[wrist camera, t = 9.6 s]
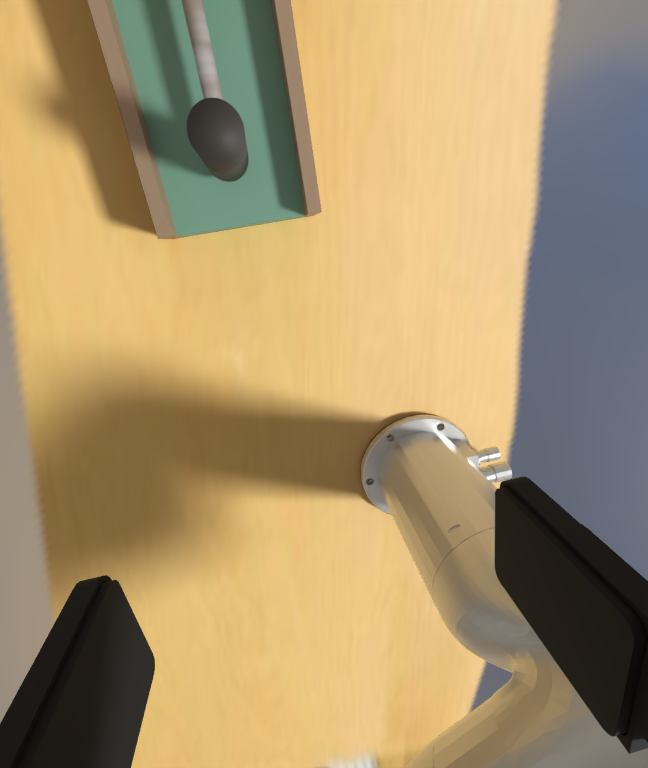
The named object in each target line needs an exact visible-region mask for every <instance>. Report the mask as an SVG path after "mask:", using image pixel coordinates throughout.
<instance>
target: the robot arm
mask: <svg viewBox="0 0 648 768" xmlns="http://www.w3.org/2000/svg"><path fill="white" fill-rule="evenodd" d="M388 435H389V436H388ZM497 459H500V452H499V450H498V448H497V447H495V446H494V447H490V448H486V449H483V450H480V451H476V450H474V449H471V446H470V443H469V441H468V439H467V437H466V436H465V435H464V433H463V432H462V431H461V430H460V429H459V428H458V427H457V426H456V425H455V424H453V423H452V422H450V421H449V420H447V419H444V418H442V417H439V416H434V415H415V416H410V417H406V418H403V419H401V420H398V421H396V422H394V423H392V424H391V425H389V426H387V427H386V428H385V429H383V430H382V431H381V432H380V433H379V434H378V435H377V436H376V437H375V438H374V439H373V441H372V442H371V443H370V445H369V446H368V448H367V450H366V452H365V454H364V457H363V460H362V464H361V481H362V484H363V487H364V490H365V492H366V494H367V496H368V498H369V499H370V501H371V502H372V503H373V505H375V506H376V507H377V508H378V509H380V510H381V511H383V512H385V513H387V514H390V515H392V516H393V518H394V520H395V523H396V525H397V527H398V529H399V531H400V533H401V535H402V537H403V539H404V541H405V543H406V545H407V548H408V550H409V552H410V554H411V556H412V558H413V560H414V562H415V564H416V566H417V568H418V570H419V572H420V575H421V577H422V579H423V581H424V583H425V585H426V587H427V589H428V591H429V593H430V595H431V597H432V600H433V602H434V604H435V606H436V608H437V610H438V612H439V614H440V616H441V618H442V620H443V621H444V623H445V625H446V626H447V628H448V629H449V631H450V632H451V633H452V635H453V636H454V637H455V638H456V639H457V640H458V641H459V642H460V643H461V644H462V645H463V646H464V647H465V648H467V649H468V650H469V651H471V652H472V653H474V654H475V655H477V656H478V657H480V658H482V659H484V660H486V661H488V662H489V663H492V664H494V665H496V666H498V667H500V668H503V669H505V670H507V671H510V672H512V673H513V676H512V678H511V679H510V680H509V682H508V683H506V684H505V685H504V686H503V687H502V688H500V689H499V690H498V691H497V692H495V693H494V694H493V696H492V697H491V698H490V699H488V700H487V701H486V702H484V703H483V704H481V705H480V706H479V707H477V708H476V709H475V710H473V711H472V712H470V713H469V714H468V715H466V716H465V717H464V718H462V719H461V720H459V721H458V722H457V723H455V724H454V725H453V726H451V727H450V728H448V729H447V730H446V731H444V732H443V733H442V734H440V735H439V736H438V737H437V738H435V739H434V740H433V741H432V742H430V743H429V744H428V745H427V746H426V747H424V748H423V749H422V750H421V751H420V752H419V753H418V754H416V755H415V757H414V758H413V759H412V760H411V761H410V763H409V764H408V765H407V767H406V768H648V581H647V580H646V579H645V578H643V577H642V576H641V575H640V574H639V573H638V572H636V571H635V570H634V569H633V568H632V567H631V566H630V565H629V564H627V563H626V562H625V561H624V560H623V559H622V558H621V557H620V556H618V555H617V554H616V553H615V552H614V551H613V550H611V549H610V548H609V547H608V546H607V545H606V544H605V543H604V542H602V541H601V540H600V539H599V538H598V537H597V536H595V535H594V534H593V533H592V532H591V531H590V530H589V529H588V528H586V527H585V526H583V525H582V524H580V523H579V522H578V521H576V520H575V519H574V518H573V517H572V516H571V515H570V514H569V513H567V512H566V511H565V510H564V509H563V508H562V507H561V506H560V505H558V504H557V503H556V502H555V501H554V500H553V499H552V498H550V497H549V496H548V495H547V494H546V493H545V492H543V491H542V490H541V489H540V488H539V487H538V486H537V485H536V484H535V483H533V482H532V481H531V480H530V479H529V478H527V477H519V478H515V479H511V478H512V471H511V468H510V466H509V465H508V463H506V462H505V461H504V462H500V463H496V464H491V465H488V466H486V467H482V468H479V465H480V463H482V462H486V461H487V462H489V461H493V460H497ZM508 479H511V480H508ZM504 480H507V481H504ZM500 481H503V482H502V483H501V484H500V488H499V489H496V487H495V486H494V485H493V484H492V483H491V482H495V483H496V482H500ZM154 670H155V660H154V656H153V653H152V651H151V649H150V647H149V645H148V643H147V640H146V638H145V636H144V634H143V632H142V630H141V628H140V626H139V624H138V622H137V619H136V617H135V615H134V613H133V611H132V609H131V607H130V605H129V603H128V601H127V598H126V596H125V594H124V592H123V590H122V588H121V586H120V584H119V582H118V581H117V580H113V581H112V580H111V579H110V577H108V576H101V577H97V578H92V579H88V580H84V581H80V582H79V583H77V584H76V586H75V587H74V589H73V590H72V592H71V594H70V596H69V598H68V600H67V602H66V603H65V605H64V607H63V609H62V611H61V613H60V615H59V616H58V618H57V620H56V622H55V624H54V626H53V627H52V629H51V631H50V633H49V635H48V637H47V639H46V641H45V642H44V644H43V646H42V648H41V650H40V652H39V654H38V655H37V657H36V659H35V661H34V663H33V665H32V667H31V668H30V670H29V672H28V674H27V675H26V677H25V679H24V681H23V683H22V685H21V687H20V688H19V690H18V692H17V694H16V696H15V698H14V700H13V701H12V703H11V705H10V707H9V709H8V711H7V712H6V714H5V716H4V718H3V720H2V722H1V723H0V768H131V765H132V761H133V757H134V753H135V748H136V744H137V740H138V736H139V732H140V728H141V724H142V720H143V716H144V712H145V708H146V704H147V700H148V696H149V692H150V688H151V684H152V680H153V676H154Z"/></svg>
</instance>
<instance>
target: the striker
mask: <svg viewBox="0 0 648 768" xmlns="http://www.w3.org/2000/svg"><path fill="white" fill-rule="evenodd" d="M182 5H183V9H184V14H185V18H186V23H187V27H188V31H189V36H190V40H191V45H192V49H193V53H194V58H195V62H196V67H197V71H198V75H199V80H200V84H201V89H202V93H203V97H204V99H203V100H201V101H199V102H197V103H196V104H195V105H194V106H193V107H192V109H191V111H190V113H189V115H188V118H187V134H188V138H189V141H190V143H191V145H192V147H193V148H194V150H195V151H196V152H197V154H198V155H199V157H200V158H201V159H202V161H203V162H204V164H205V165H206V166H207V168H208V169H209V170H210V172H211V173H212V174H213V175H214V176H215V177H216V178H218V179H220V180H222V181H226V182H232V181H236V180H238V179H240V178H241V177H242V176H243V175H244V174H245V172H246V170H247V167H248V162H249V158H248V151H247V144H246V137H245V130H244V125H243V122H242V119H241V117H240V115H239V114H238V112H237V111H236V109H235V108H234V107H233V106H232V105H230V104H229V103H228V102H226V101H224V100H223V97H222V92H221V88H220V83H219V78H218V73H217V69H216V64H215V59H214V54H213V50H212V45H211V40H210V36H209V31H208V26H207V21H206V17H205V12H204V7H203V2H202V0H182Z"/></svg>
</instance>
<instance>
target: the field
mask: <svg viewBox="0 0 648 768" xmlns="http://www.w3.org/2000/svg"><path fill="white" fill-rule="evenodd" d="M87 1H88V4H89V8H90V11H91V14H92V18H93V21H94V25H95V28H96V31H97V35H98V38H99V41H100V45H101V48H102V52H103V55H104V58H105V62H106V65H107V68H108V72H109V75H110V79H111V82H112V85H113V89H114V92H115V95H116V99H117V102H118V106H119V109H120V112H121V116H122V119H123V123H124V126H125V129H126V133H127V136H128V139H129V143H130V146H131V150H132V153H133V156H134V160H135V163H136V166H137V170H138V173H139V177H140V180H141V183H142V187H143V190H144V193H145V197H146V200H147V204H148V207H149V210H150V214H151V217H152V220H153V224H154V227H155V231H156V234H157V237H158V239H175V238H181V237H187V236H193V235H199V234H205V233H211V232H217V231H223V230H229V229H235V228H241V227H247V226H253V225H260V224H266V223H272V222H278V221H284V220H290V219H296V218H302V217H308V216H314V215H316V214H318V213H320V212H321V205H320V198H319V191H318V184H317V177H316V171H315V164H314V157H313V150H312V143H311V136H310V130H309V123H308V116H307V109H306V102H305V95H304V89H303V82H302V75H301V68H300V61H299V54H298V48H297V41H296V34H295V27H294V20H293V13H292V7H291V0H202V2H203V7H204V12H205V17H206V21H207V26H208V31H209V36H210V40H211V45H212V50H213V54H214V59H215V64H216V69H217V73H218V78H219V83H220V88H221V92H222V97H223V100H224V101H226V102H228V103H229V104H230V105H232V106H233V107H234V108H235V109H236V111H237V112H238V114H239V115H240V117H241V119H242V122H243V125H244V130H245V137H246V144H247V151H248V158H249V162H248V167H247V170H246V172H245V174H244V175H243V176H242V177H241V178H240V179H238V180H236V181H232V182H226V181H222V180H220V179H218V178H216V177H215V176H214V175H213V174H212V173H211V172H210V170H209V169H208V168H207V166H206V165H205V164H204V162H203V161H202V159H201V158H200V157H199V155H198V154H197V152H196V151H195V150H194V148H193V147H192V145H191V143H190V141H189V138H188V134H187V118H188V115H189V113H190V111H191V109H192V107H193V106H194V105H195V104H196V103H197V102H199V101H201V100H203V99H204V97H203V93H202V89H201V84H200V80H199V75H198V71H197V67H196V62H195V58H194V53H193V49H192V45H191V40H190V36H189V31H188V27H187V23H186V18H185V14H184V9H183V5H182V0H87Z"/></svg>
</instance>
